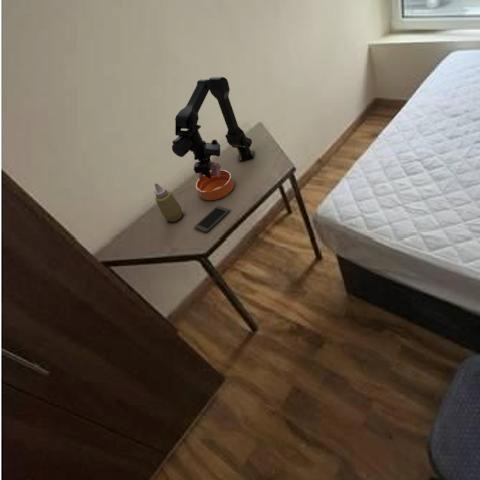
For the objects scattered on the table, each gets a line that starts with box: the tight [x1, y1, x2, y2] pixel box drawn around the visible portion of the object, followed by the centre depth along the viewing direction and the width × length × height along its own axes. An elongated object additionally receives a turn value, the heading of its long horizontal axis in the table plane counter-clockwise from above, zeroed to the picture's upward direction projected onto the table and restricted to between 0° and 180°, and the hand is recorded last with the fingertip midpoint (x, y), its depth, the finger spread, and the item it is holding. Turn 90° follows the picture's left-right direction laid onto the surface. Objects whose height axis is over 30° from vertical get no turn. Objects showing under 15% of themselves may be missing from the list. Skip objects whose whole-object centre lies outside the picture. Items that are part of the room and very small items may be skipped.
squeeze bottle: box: [154, 182, 183, 223], centre depth 163 cm, size 8×8×18 cm
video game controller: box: [198, 161, 221, 180], centre depth 172 cm, size 10×5×7 cm, turn 84°
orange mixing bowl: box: [195, 169, 235, 201], centre depth 177 cm, size 16×16×5 cm
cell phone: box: [194, 206, 230, 233], centre depth 163 cm, size 7×14×1 cm, turn 146°
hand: (210, 173), depth 173 cm, fingers closed on video game controller, 6 cm apart
